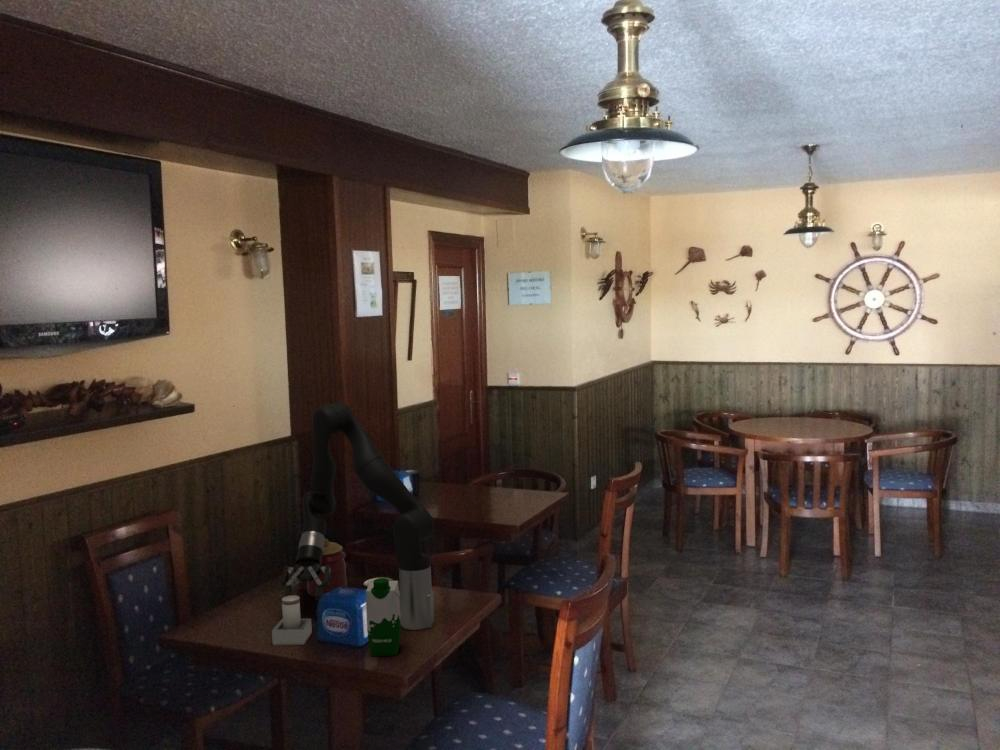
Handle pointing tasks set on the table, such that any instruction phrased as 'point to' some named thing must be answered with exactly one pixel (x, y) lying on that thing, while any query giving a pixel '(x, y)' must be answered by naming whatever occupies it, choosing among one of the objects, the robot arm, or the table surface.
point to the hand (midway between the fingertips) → (302, 599)
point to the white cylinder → (291, 612)
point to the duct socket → (291, 634)
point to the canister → (337, 565)
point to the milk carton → (383, 617)
